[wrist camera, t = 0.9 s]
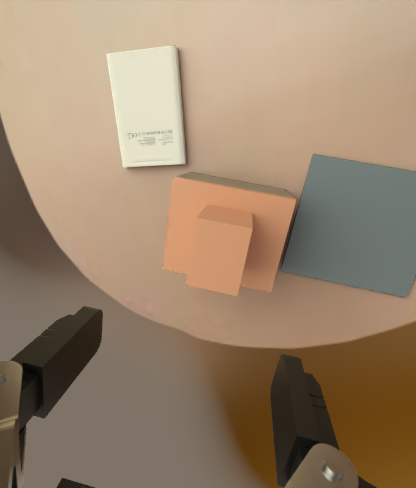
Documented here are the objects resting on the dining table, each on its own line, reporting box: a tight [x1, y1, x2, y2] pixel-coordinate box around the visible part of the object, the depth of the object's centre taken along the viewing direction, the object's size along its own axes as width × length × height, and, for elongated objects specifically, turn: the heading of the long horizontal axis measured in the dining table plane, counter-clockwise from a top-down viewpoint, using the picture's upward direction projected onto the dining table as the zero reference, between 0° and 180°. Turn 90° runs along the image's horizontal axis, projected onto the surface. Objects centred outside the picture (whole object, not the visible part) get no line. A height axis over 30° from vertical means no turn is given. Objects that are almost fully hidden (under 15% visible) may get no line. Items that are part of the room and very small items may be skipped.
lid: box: [162, 176, 296, 296], centre depth 26 cm, size 10×12×8 cm
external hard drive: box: [107, 45, 186, 168], centre depth 33 cm, size 2×8×12 cm
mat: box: [281, 154, 416, 297], centre depth 33 cm, size 15×16×1 cm
